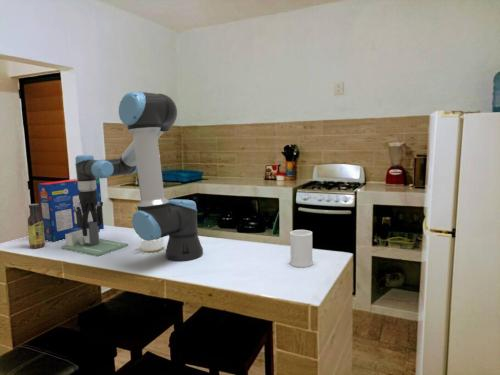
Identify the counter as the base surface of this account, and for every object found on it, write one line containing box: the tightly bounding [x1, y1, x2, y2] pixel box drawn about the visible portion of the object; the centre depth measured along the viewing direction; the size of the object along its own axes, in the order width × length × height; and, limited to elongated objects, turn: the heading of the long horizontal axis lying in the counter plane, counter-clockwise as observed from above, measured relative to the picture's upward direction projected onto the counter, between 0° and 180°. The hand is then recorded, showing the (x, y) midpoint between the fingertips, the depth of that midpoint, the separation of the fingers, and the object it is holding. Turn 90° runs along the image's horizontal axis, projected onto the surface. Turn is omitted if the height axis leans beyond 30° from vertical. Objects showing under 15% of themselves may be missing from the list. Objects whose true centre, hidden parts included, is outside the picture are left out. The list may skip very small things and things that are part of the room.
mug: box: [289, 229, 314, 268], centre depth 140 cm, size 12×8×12 cm
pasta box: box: [37, 178, 105, 243], centre depth 191 cm, size 28×8×28 cm, turn 148°
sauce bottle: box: [27, 203, 46, 249], centre depth 170 cm, size 7×6×20 cm
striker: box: [79, 221, 100, 246], centre depth 169 cm, size 7×6×10 cm
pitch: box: [60, 230, 129, 257], centre depth 168 cm, size 25×16×6 cm, turn 60°
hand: (92, 241), depth 169 cm, fingers closed on striker, 4 cm apart
